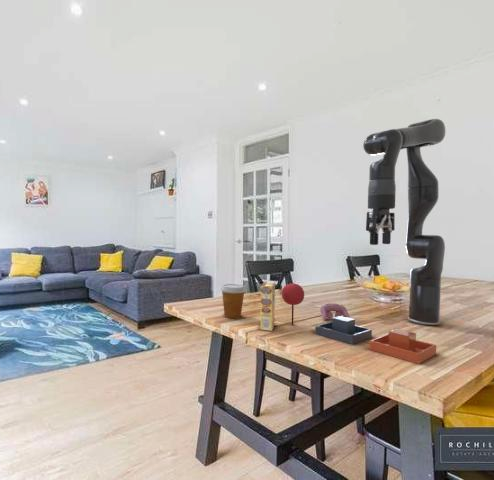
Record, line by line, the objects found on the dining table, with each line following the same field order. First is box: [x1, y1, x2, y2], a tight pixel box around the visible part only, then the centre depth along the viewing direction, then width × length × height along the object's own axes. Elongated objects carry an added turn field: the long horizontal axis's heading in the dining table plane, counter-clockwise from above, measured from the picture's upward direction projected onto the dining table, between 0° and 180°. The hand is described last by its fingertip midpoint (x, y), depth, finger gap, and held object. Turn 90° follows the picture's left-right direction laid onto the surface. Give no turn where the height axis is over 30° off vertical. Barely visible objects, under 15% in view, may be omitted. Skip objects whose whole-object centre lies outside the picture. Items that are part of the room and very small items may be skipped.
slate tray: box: [314, 321, 373, 345], centre depth 108 cm, size 12×12×3 cm
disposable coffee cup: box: [220, 283, 246, 319], centre depth 129 cm, size 10×10×12 cm
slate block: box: [331, 315, 356, 335], centre depth 107 cm, size 5×5×5 cm
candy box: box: [259, 281, 276, 332], centre depth 115 cm, size 9×4×15 cm, turn 159°
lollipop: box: [281, 283, 305, 326], centre depth 119 cm, size 8×8×15 cm
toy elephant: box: [319, 302, 351, 321], centre depth 128 cm, size 10×5×7 cm, turn 84°
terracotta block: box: [388, 328, 417, 352], centre depth 94 cm, size 5×5×5 cm
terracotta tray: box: [368, 333, 437, 365], centre depth 94 cm, size 12×12×3 cm
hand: (380, 244), depth 107 cm, fingers open, 8 cm apart
